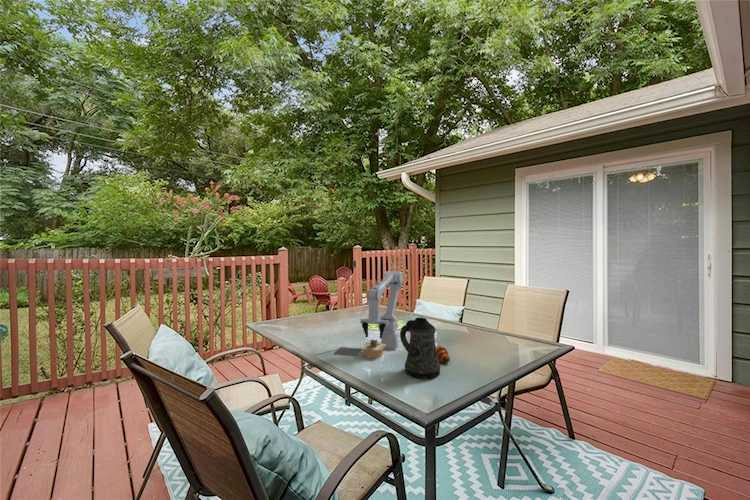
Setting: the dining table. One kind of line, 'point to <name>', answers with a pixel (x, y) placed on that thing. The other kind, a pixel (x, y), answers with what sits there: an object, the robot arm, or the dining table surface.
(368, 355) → the bowl
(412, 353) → the beer stein
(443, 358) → the croissant
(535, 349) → the dining table surface
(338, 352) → the mat
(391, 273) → the robot arm
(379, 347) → the lid
